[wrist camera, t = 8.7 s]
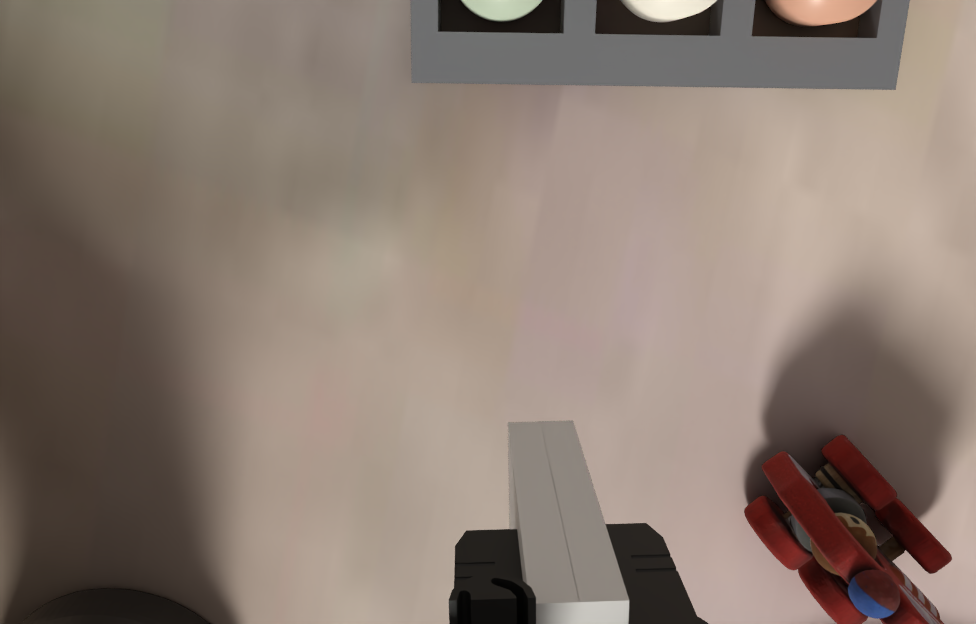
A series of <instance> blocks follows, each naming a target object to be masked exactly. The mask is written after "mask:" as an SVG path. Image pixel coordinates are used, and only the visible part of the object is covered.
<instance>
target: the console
mask: <svg viewBox="0 0 976 624" xmlns="http://www.w3.org/2000/svg"><path fill="white" fill-rule="evenodd" d="M909 1H910V0H877V1H876V2H875V3H874V4H873V5H872V6H871V7H870V8H869V9H868V10H866V11H865V12H864V13H862V14H861V15H860V20H859V27H858V34H857V38H831V37H764V36H752V28H753V18H754V9H755V0H717V1H716V2H715V3H714V4H712V5H711V13H710V24H709V35H708V36H697V35H629V34H595V23H596V3H597V0H561V13H560V33H495V32H441V5H440V0H411V64H412V83H469V84H537V85H606V86H674V87H742V88H810V89H879V90H896V83H897V77H898V71H899V65H900V58H901V52H902V46H903V39H904V33H905V27H906V20H907V14H908V8H909Z"/></svg>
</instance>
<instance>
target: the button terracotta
mask: <svg viewBox="0 0 976 624" xmlns="http://www.w3.org/2000/svg"><path fill="white" fill-rule="evenodd" d="M765 1H766V3H767V5H768V7H769V8H770V10H771V11H772V12H773V13H774V14H775V15H776V16H777V17H778V18H780V19H781V20H783V21H784V22H786V23H789V24H791V25H795V26H800V27H812V26H819V25H826V24H833V23H839V22H844V21H847V20H850V19H853V18H855V17H857V16H859V15H861V14H862V13H864V12H865V11H866V10H868V9H869V8H870V7H871V6H872V5H873V4H874V3H875V2H876V1H877V0H765Z"/></svg>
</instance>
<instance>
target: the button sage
mask: <svg viewBox="0 0 976 624" xmlns="http://www.w3.org/2000/svg"><path fill="white" fill-rule="evenodd" d="M541 1H542V0H461V2H462V3H463V4H464V5H465V6H466V7H467V8H468V9H469V10H470V11H471V12H472V13H474V14H475V15H477V16H479V17H480V18H483V19H485V20H488V21H492V22H510V21H514V20H517V19H520V18H522V17H524V16H526V15H527V14H529V13H530V12H532V11H533V10H534V9H535V8H536V7H537V6H538V5H539V4H540V3H541Z"/></svg>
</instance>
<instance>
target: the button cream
mask: <svg viewBox="0 0 976 624" xmlns="http://www.w3.org/2000/svg"><path fill="white" fill-rule="evenodd" d="M716 1H717V0H621V2H622V3H623V4H624V6H625V7H626V8H627V9H628V10H629V11H631V12H632V13H633V14H635V15H636V16H638V17H640V18H642V19H645V20H648V21H652V22H670V21H675V20H678V19H682V18H685V17H689V16H692V15H695V14H698V13H700V12H702V11H704V10H705V9H707V8H708V7H710V6H711V5H712V4H714V3H715V2H716Z"/></svg>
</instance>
